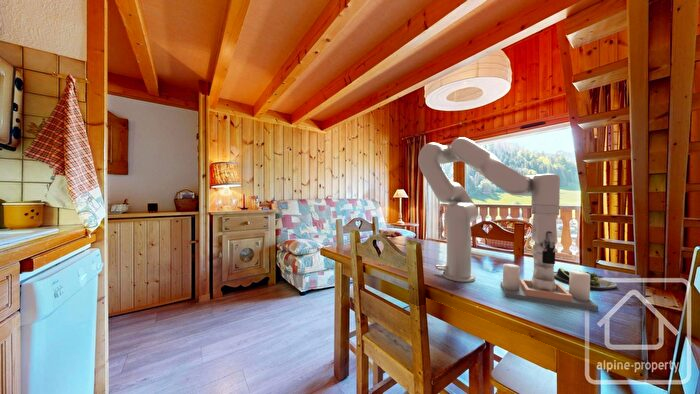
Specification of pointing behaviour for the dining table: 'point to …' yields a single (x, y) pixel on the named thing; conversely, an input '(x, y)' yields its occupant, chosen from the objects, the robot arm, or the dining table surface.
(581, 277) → the twin post tray
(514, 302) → the dining table surface
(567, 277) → the salad plate
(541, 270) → the plastic bottle
